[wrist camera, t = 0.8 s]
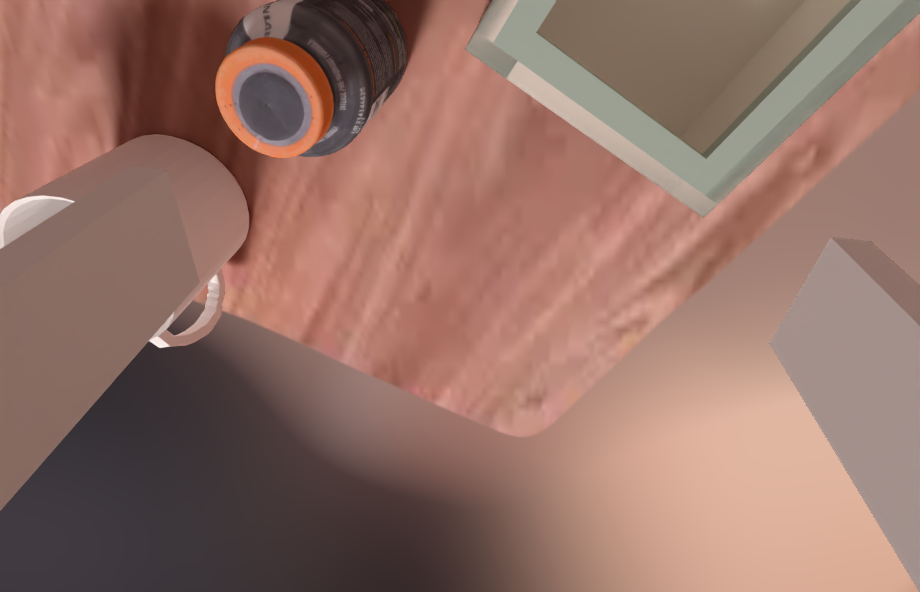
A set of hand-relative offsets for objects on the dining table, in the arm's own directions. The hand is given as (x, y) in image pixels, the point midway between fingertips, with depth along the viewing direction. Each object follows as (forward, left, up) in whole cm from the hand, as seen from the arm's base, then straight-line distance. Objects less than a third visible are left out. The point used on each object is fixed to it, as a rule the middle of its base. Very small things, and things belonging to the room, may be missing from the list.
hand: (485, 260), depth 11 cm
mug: (-12, -20, -20) cm, 31 cm away
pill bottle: (-7, -4, -20) cm, 22 cm away
